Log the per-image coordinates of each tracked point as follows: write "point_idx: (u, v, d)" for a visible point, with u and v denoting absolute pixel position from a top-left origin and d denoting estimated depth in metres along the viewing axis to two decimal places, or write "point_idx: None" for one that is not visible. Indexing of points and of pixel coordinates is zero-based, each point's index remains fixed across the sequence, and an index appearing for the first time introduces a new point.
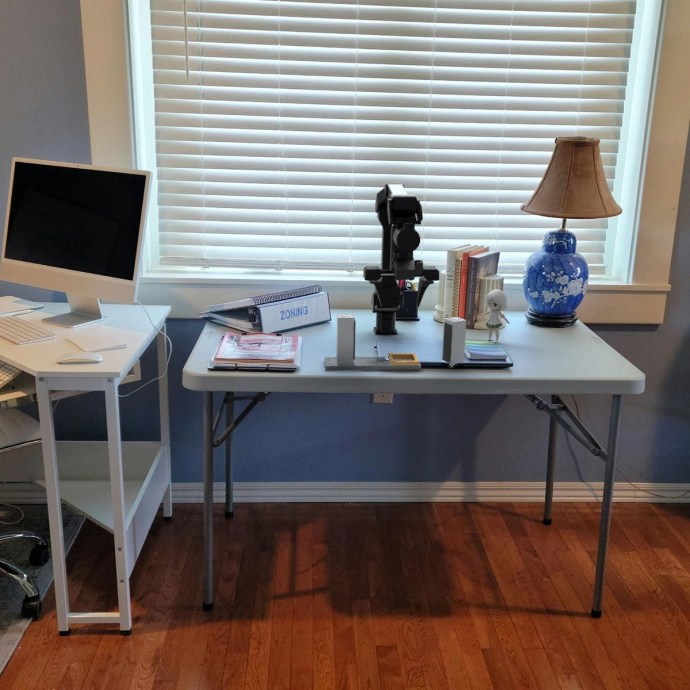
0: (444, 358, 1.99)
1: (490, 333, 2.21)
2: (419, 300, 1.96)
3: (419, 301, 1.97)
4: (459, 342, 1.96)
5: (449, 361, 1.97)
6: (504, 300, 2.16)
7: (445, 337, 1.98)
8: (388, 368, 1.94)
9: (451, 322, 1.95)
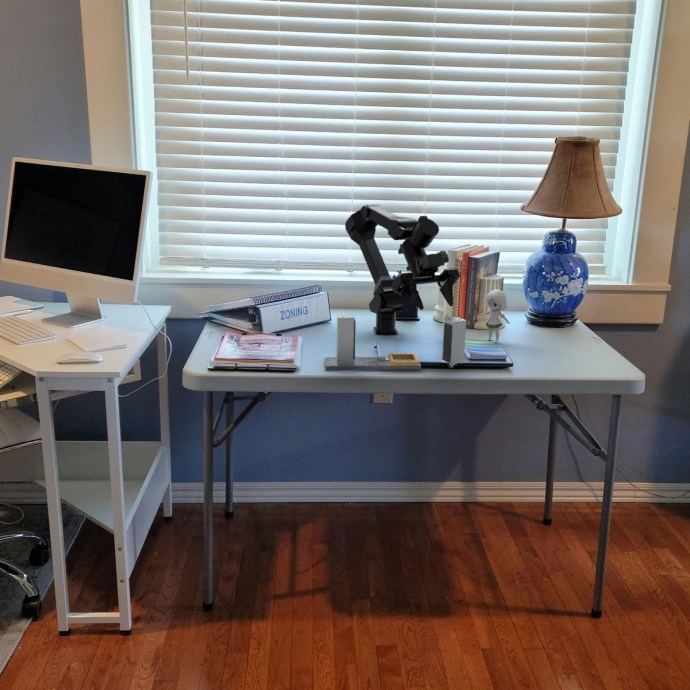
0: (444, 358, 1.99)
1: (490, 333, 2.21)
2: (451, 298, 2.05)
3: (451, 299, 2.05)
4: (459, 342, 1.96)
5: (449, 361, 1.97)
6: (504, 300, 2.16)
7: (445, 337, 1.98)
8: (388, 368, 1.94)
9: (451, 322, 1.95)
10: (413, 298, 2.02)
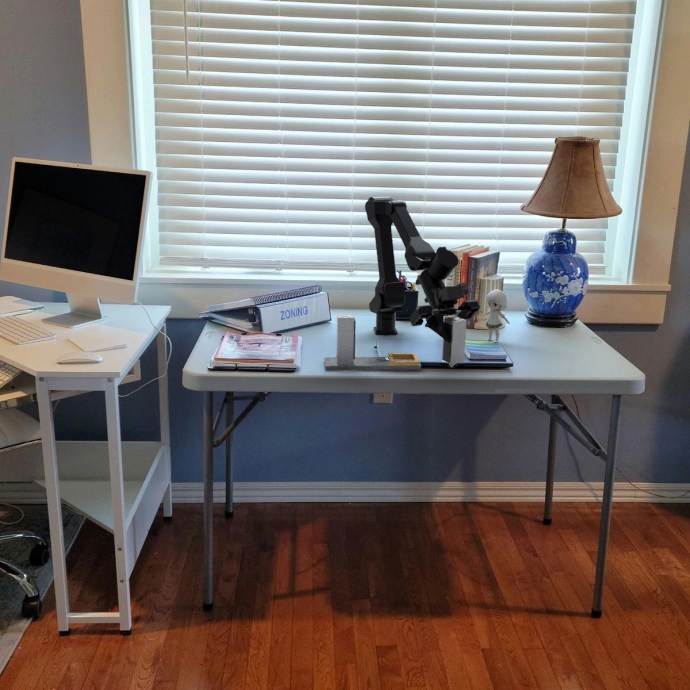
0: (445, 358, 1.99)
1: (490, 333, 2.21)
2: None
3: None
4: (459, 342, 1.96)
5: (449, 361, 1.97)
6: (504, 300, 2.16)
7: None
8: (388, 368, 1.94)
9: (451, 322, 1.95)
10: (440, 331, 1.97)
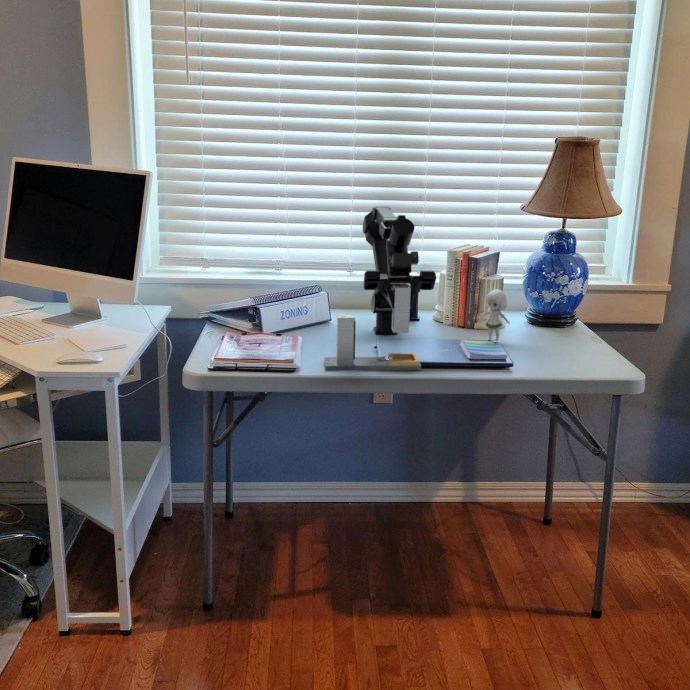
0: (392, 323, 2.04)
1: (490, 333, 2.21)
2: (410, 299, 2.01)
3: (411, 300, 2.01)
4: (403, 309, 2.00)
5: (393, 326, 2.02)
6: (504, 300, 2.16)
7: None
8: (388, 368, 1.94)
9: (394, 288, 1.99)
10: (387, 296, 2.03)
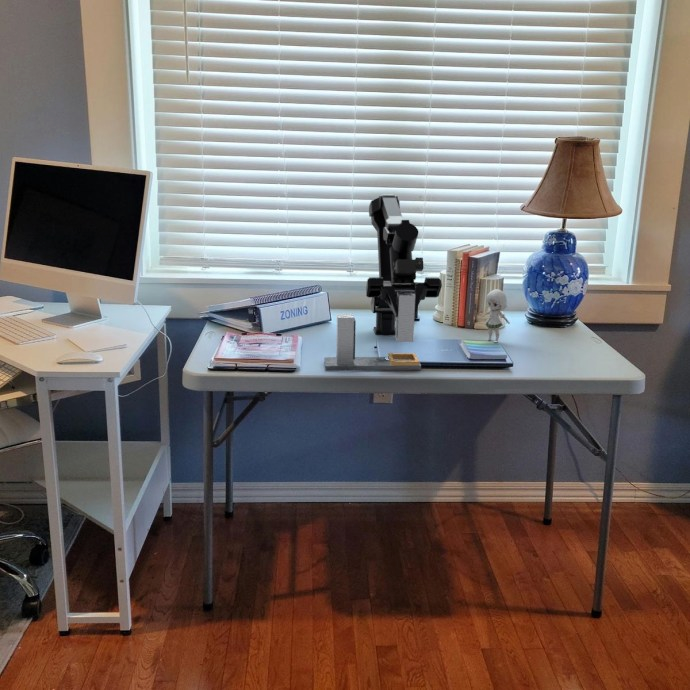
0: (395, 332, 1.96)
1: (490, 333, 2.21)
2: (415, 308, 1.93)
3: (415, 309, 1.93)
4: (407, 317, 1.92)
5: (396, 335, 1.94)
6: (504, 300, 2.16)
7: None
8: (388, 368, 1.94)
9: (398, 295, 1.92)
10: (391, 304, 1.95)
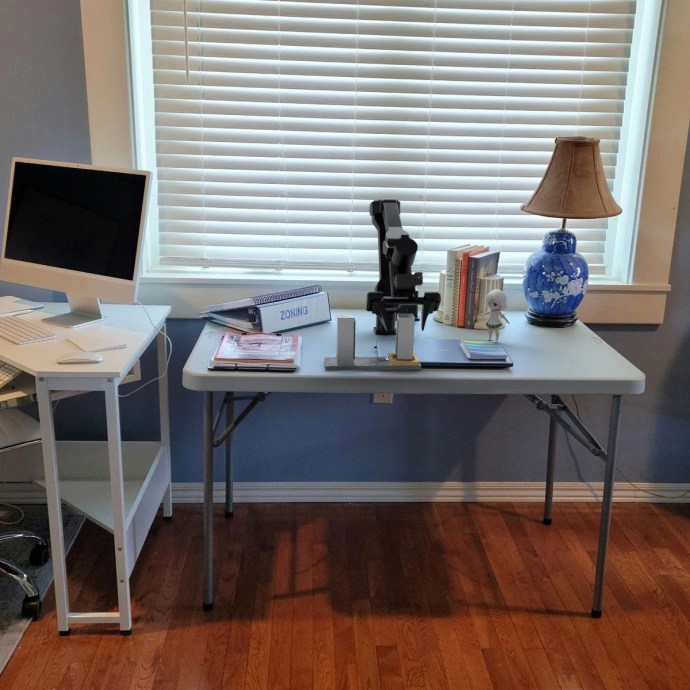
0: (395, 354, 1.98)
1: (490, 333, 2.21)
2: (423, 322, 1.94)
3: (423, 323, 1.94)
4: (406, 339, 1.94)
5: (396, 357, 1.96)
6: (504, 300, 2.16)
7: (396, 333, 1.96)
8: (388, 368, 1.94)
9: (398, 318, 1.93)
10: (381, 318, 1.96)
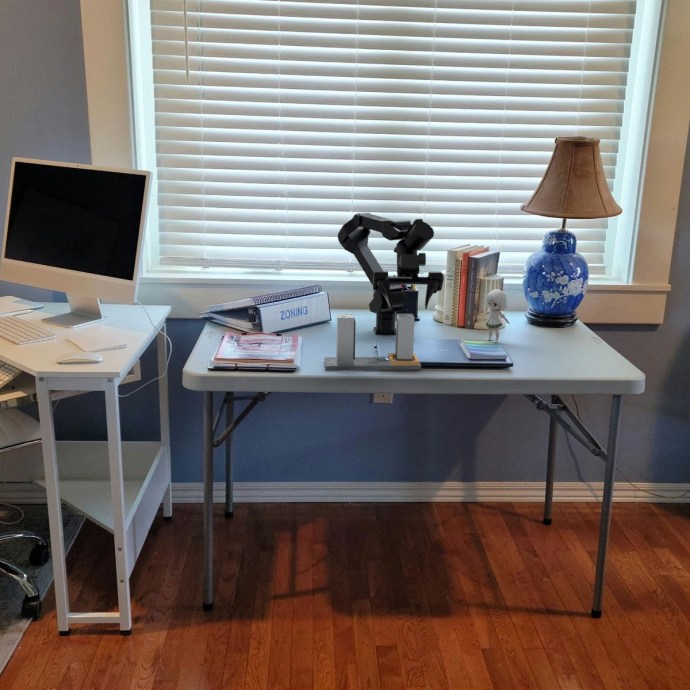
0: (395, 354, 1.98)
1: (490, 333, 2.21)
2: (426, 300, 2.05)
3: (426, 301, 2.05)
4: (406, 339, 1.94)
5: (396, 357, 1.96)
6: (504, 300, 2.16)
7: (396, 333, 1.96)
8: (388, 368, 1.94)
9: (398, 318, 1.93)
10: (386, 296, 2.07)
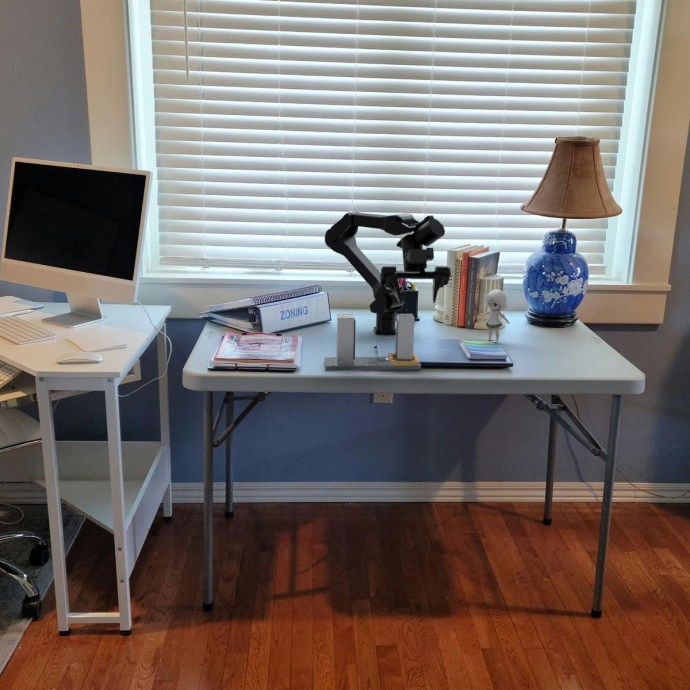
0: (395, 354, 1.98)
1: (490, 333, 2.21)
2: (435, 294, 2.07)
3: (435, 295, 2.07)
4: (406, 339, 1.94)
5: (396, 357, 1.96)
6: (504, 300, 2.16)
7: (396, 333, 1.96)
8: (388, 368, 1.94)
9: (398, 318, 1.93)
10: (394, 291, 2.08)
